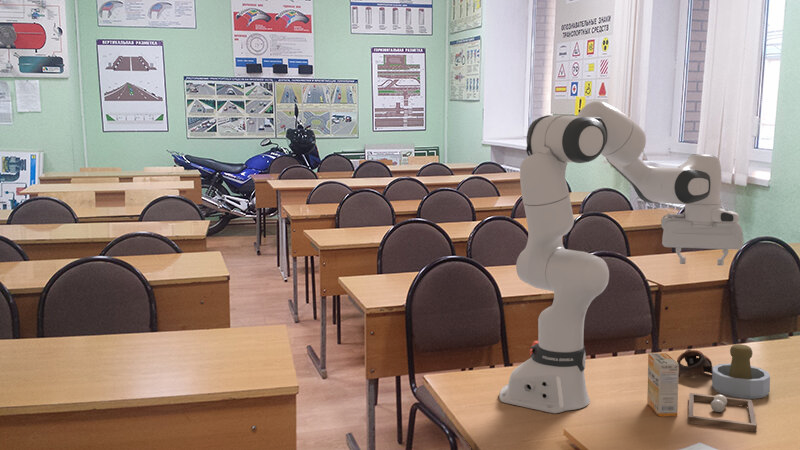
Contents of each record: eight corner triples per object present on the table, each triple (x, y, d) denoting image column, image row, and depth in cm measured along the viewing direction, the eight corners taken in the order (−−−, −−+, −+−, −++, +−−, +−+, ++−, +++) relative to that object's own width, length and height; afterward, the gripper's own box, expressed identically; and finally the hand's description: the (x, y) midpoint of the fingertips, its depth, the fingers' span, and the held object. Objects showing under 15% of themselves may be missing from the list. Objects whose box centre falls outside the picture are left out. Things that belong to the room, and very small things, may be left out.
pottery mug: (723, 383, 182) (713, 360, 179) (690, 397, 183) (679, 374, 181) (705, 358, 193) (695, 336, 190) (674, 372, 194) (663, 350, 192)
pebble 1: (713, 408, 164) (713, 396, 163) (713, 403, 166) (713, 392, 166) (727, 409, 162) (727, 397, 162) (726, 405, 165) (727, 393, 165)
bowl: (712, 395, 172) (713, 377, 171) (711, 378, 184) (712, 361, 183) (771, 402, 166) (772, 383, 166) (766, 384, 178) (767, 366, 178)
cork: (740, 392, 171) (742, 350, 170) (721, 384, 177) (723, 343, 176) (758, 388, 173) (760, 347, 172) (739, 381, 179) (740, 341, 178)
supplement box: (646, 403, 168) (647, 352, 166) (665, 403, 167) (666, 352, 166) (657, 417, 159) (658, 363, 158) (678, 416, 159) (679, 363, 158)
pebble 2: (710, 404, 164) (710, 413, 161) (710, 395, 162) (710, 405, 160) (724, 406, 162) (724, 415, 160) (724, 397, 161) (724, 407, 159)
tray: (688, 422, 155) (688, 416, 155) (689, 398, 170) (689, 392, 170) (756, 431, 150) (756, 425, 150) (751, 405, 164) (751, 400, 164)
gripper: (660, 214, 183) (659, 264, 185) (744, 215, 175) (743, 268, 177) (662, 212, 189) (661, 260, 191) (743, 213, 181) (741, 264, 182)
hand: (701, 264), depth 184 cm, fingers open, 8 cm apart
